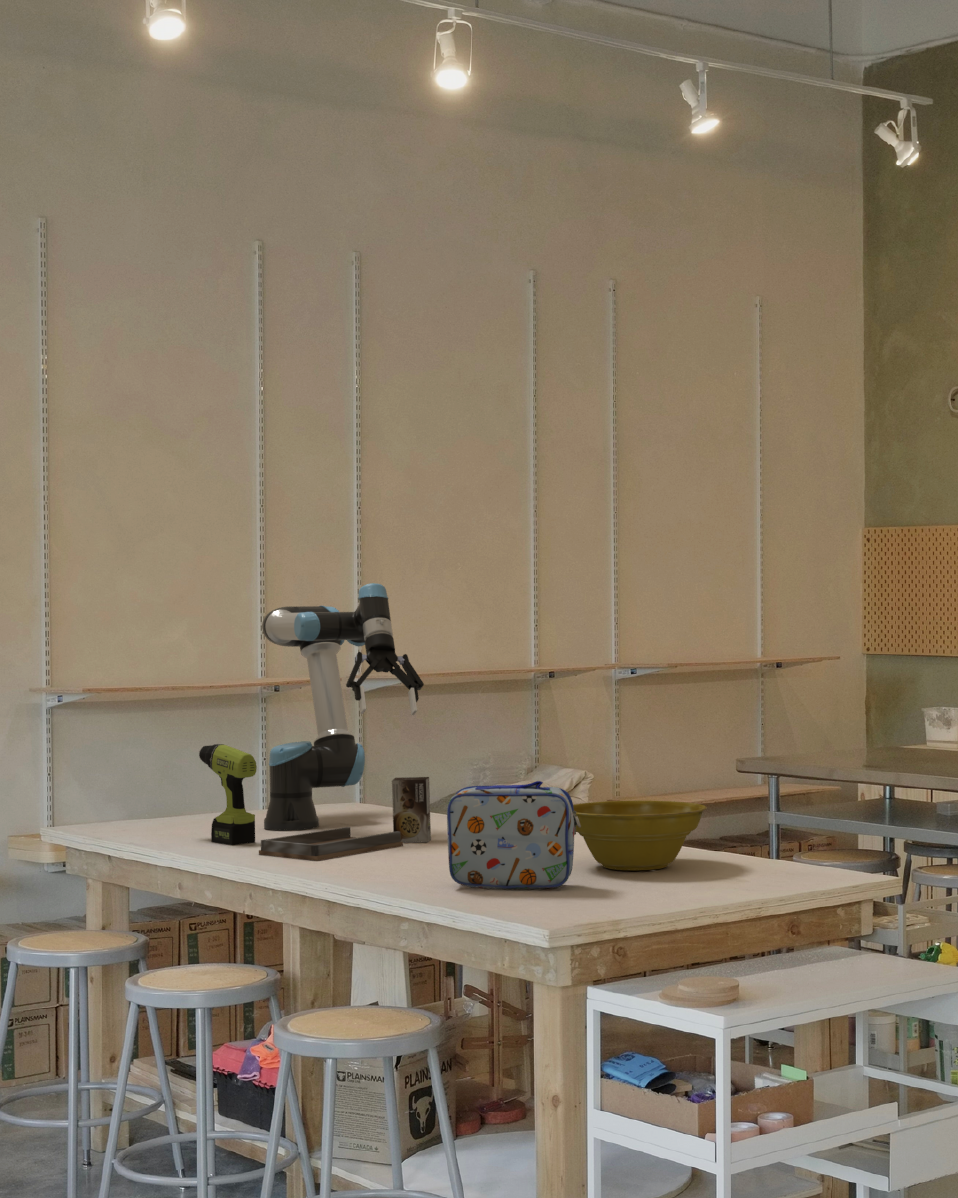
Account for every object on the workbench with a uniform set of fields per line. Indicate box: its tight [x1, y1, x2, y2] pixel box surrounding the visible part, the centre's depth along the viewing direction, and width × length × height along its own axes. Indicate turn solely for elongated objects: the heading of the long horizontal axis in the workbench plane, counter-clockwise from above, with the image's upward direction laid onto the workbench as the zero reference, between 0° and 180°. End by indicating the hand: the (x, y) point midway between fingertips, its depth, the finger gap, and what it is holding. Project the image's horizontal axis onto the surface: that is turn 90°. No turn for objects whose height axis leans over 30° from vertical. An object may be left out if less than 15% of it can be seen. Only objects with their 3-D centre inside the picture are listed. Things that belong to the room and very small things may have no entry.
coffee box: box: [391, 776, 432, 844], centre depth 389 cm, size 9×6×16 cm
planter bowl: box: [573, 800, 708, 872], centre depth 339 cm, size 32×32×13 cm
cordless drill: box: [198, 743, 258, 846], centre depth 397 cm, size 23×7×25 cm, turn 42°
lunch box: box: [446, 780, 581, 890], centre depth 314 cm, size 28×10×22 cm, turn 81°
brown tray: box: [258, 826, 404, 862], centre depth 375 cm, size 20×30×4 cm, turn 141°
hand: (389, 712), depth 385 cm, fingers open, 13 cm apart
